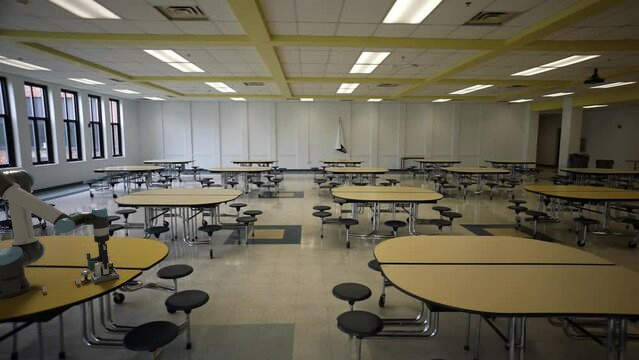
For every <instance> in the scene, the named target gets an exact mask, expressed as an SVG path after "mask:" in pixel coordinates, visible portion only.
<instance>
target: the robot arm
mask: <svg viewBox="0 0 639 360" xmlns="http://www.w3.org/2000/svg"><path fill="white" fill-rule="evenodd" d="M34 185H35V177H34V176H33V175H32V173H31V172H30V171H28V170H25V169H11V170H4V171H0V198H1V199H2V200H4V201H7V200H8V206H9V212H10V219H11V224H12V225H11V226H12V230H13V231H12V232H13V237H14V241H13V242H11V246H9V247H6V248H2V249H0V299H1V300H2V299H8V298H13V297H17V296H21V295H22V294H25V293H27V292H28V291H30V290H31V288H32V286H31V282H30V281H29V279H28V278H27V276H26V273H25V268H26V267H28V266H30V265H32V264H34V263H36V262H37V261H39V260H40V259H41V258H43V256H44V255H45V251H46V249H45V245H44V243H42V241H40V240H39V238H38V237H36V236H35V231H34V223H33V218H32V214H34V215H35V216H37V217H38V218H40V219H42V220H45V221H46V222H48V223H50V224H52V225H54V228H55V230H56V231H57V232H58V233H60V234H66V233H70V232H73V230H75V229H78V228H81V227H82V226H92V231H93V235H94V236H93V242H95V243H97V247H98V248H97V250H98V256H99V255H102V261H103V263H101V264H102V266H103V275H105V274H109V269H108V263H109V261H108V255H109V254H108V245H107V242H108V241H110V229H111V228H110V227H109V215H108V209H107V208H105V207H96V208H91V211H84V212H83V211H81V212H79V211H76V212H71V213H69V215H68V214H67V213H64V212H63V211H61V210H60V209H58V208H56V207H54V206H53V205H51V204H49V203H48V202H45V201H44V200H42V199H40V198H39V197H37V196H35V195H33V194H32V187H33V186H34Z"/></svg>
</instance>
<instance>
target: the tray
mask: <svg viewBox="0 0 639 360" xmlns="http://www.w3.org/2000/svg"><path fill="white" fill-rule="evenodd" d="M113 268H114V274H112V275H108V276H105V277H102V278H101V277H99V276H96V275H95V272H92V273H91V272H90V277H91V281H92V282H93V284H94V285H96V284H101V283H104V282H109V281H113V280H117V279H120V274H119V272H118V271H117V269H116V268H115V267H113Z"/></svg>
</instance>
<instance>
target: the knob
mask: <svg viewBox="0 0 639 360" xmlns="http://www.w3.org/2000/svg"><path fill="white" fill-rule="evenodd" d="M88 275H91V269H85V270H81V271H80V276H83V277H82V278H81V279H80V282H81V283H86V282H91V281H92V278H91V276H88Z"/></svg>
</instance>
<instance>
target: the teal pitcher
mask: <svg viewBox="0 0 639 360" xmlns="http://www.w3.org/2000/svg"><path fill="white" fill-rule="evenodd" d="M85 255H86V261H87V270H95V264H96V263H98V262H97V257H98V256H95V257H92V258H91V253H90V252H87V253H86V254H85Z"/></svg>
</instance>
